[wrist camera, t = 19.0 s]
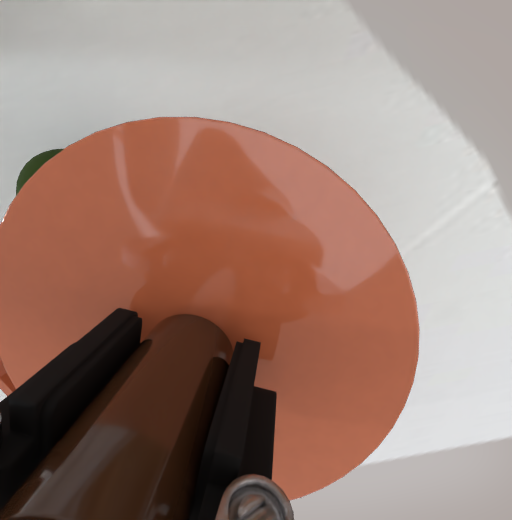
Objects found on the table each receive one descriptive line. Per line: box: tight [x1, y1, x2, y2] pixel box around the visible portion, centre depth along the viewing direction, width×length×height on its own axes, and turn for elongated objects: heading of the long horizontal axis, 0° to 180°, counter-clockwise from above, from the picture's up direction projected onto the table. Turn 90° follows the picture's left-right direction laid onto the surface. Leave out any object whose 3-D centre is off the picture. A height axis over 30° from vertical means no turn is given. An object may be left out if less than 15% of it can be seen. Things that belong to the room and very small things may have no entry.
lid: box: [0, 117, 419, 520], centre depth 8 cm, size 15×15×7 cm
